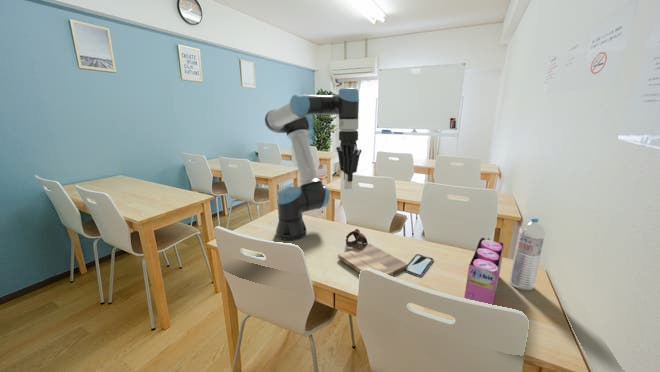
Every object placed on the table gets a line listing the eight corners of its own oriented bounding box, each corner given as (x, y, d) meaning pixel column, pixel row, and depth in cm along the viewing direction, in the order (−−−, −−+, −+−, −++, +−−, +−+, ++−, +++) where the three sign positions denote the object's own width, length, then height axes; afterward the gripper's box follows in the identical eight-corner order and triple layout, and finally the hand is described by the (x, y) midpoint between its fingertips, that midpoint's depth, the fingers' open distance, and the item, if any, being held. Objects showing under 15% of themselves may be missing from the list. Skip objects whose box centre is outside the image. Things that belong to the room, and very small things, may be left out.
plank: (337, 257, 111) (338, 254, 111) (356, 252, 117) (356, 248, 116) (374, 282, 94) (374, 278, 94) (393, 275, 100) (393, 271, 100)
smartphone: (402, 270, 103) (416, 253, 114) (402, 272, 103) (416, 255, 114) (421, 277, 98) (434, 258, 110) (421, 279, 99) (434, 260, 110)
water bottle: (505, 280, 97) (517, 215, 90) (522, 278, 97) (536, 214, 91) (519, 292, 90) (533, 223, 83) (538, 291, 91) (554, 222, 84)
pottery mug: (371, 252, 118) (363, 239, 114) (351, 259, 120) (343, 247, 117) (367, 233, 128) (360, 221, 125) (350, 240, 131) (342, 229, 127)
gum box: (476, 267, 105) (480, 235, 101) (499, 274, 100) (505, 241, 96) (463, 301, 86) (468, 264, 83) (491, 312, 82) (498, 272, 78)
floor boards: (356, 252, 117) (356, 249, 116) (369, 246, 121) (369, 243, 121) (393, 275, 100) (393, 271, 100) (407, 267, 105) (407, 264, 104)
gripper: (330, 130, 108) (331, 186, 114) (351, 131, 97) (351, 194, 104) (345, 129, 112) (345, 183, 118) (367, 130, 102) (365, 190, 108)
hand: (348, 188), depth 111 cm, fingers closed
